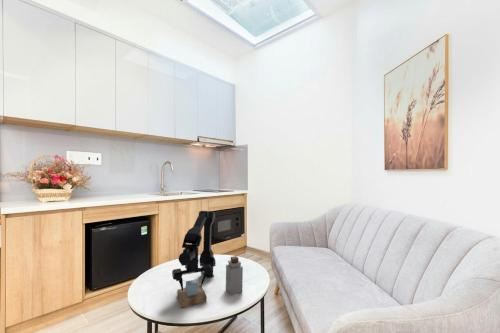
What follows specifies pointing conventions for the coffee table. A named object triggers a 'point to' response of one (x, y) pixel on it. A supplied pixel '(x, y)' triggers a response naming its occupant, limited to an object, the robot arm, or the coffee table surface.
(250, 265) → the coffee table surface
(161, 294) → the coffee table surface
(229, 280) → the perfume bottle
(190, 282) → the slate block
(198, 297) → the walnut plinth
